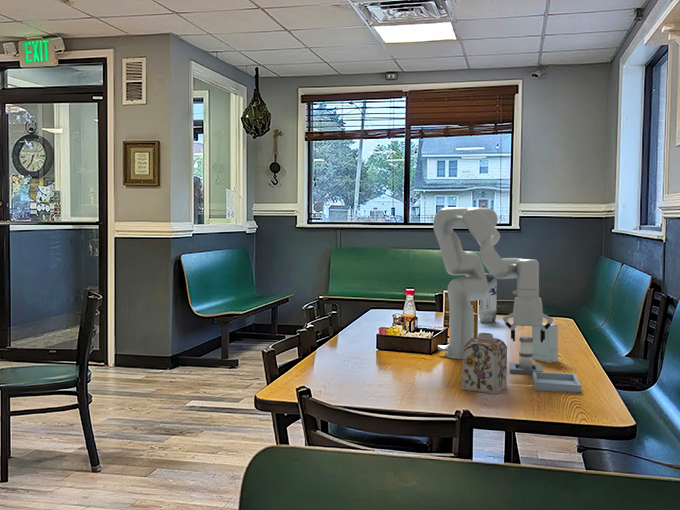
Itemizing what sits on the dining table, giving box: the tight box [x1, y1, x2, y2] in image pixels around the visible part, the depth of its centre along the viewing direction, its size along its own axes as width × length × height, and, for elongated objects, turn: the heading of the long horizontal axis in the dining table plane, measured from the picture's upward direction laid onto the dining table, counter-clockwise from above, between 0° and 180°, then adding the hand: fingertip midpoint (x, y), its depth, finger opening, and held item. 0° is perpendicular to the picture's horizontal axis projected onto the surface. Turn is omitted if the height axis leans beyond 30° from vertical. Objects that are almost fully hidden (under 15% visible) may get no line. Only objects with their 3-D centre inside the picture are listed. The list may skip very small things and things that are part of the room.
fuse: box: [518, 336, 533, 369], centre depth 239 cm, size 5×5×12 cm
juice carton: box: [478, 271, 498, 323], centre depth 354 cm, size 9×10×27 cm
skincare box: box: [531, 322, 559, 363], centre depth 257 cm, size 8×6×15 cm
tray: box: [532, 371, 582, 394], centre depth 220 cm, size 14×16×2 cm
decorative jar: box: [461, 332, 508, 395], centre depth 215 cm, size 12×12×18 cm
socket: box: [509, 362, 544, 376], centre depth 240 cm, size 11×14×2 cm
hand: (527, 341), depth 238 cm, fingers open, 9 cm apart
